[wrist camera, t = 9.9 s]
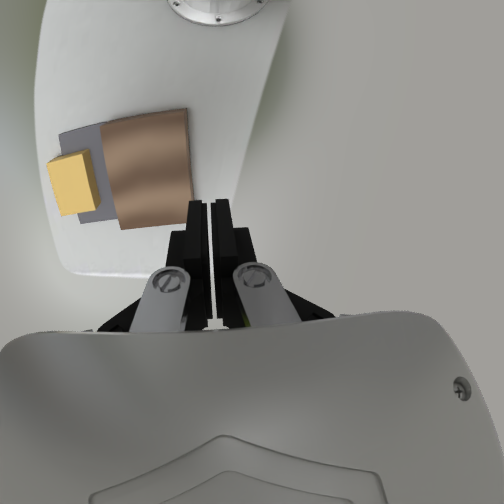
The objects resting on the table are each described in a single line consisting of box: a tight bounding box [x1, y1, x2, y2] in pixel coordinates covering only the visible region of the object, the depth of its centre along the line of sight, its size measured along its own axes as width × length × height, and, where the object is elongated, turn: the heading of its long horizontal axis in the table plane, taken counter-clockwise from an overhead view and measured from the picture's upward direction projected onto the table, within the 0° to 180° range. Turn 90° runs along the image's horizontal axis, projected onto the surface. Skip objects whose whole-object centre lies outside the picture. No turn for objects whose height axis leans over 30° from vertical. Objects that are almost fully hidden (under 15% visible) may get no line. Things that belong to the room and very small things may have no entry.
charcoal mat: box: [59, 122, 118, 224], centre depth 31 cm, size 14×8×1 cm, turn 0°
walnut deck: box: [100, 108, 194, 230], centre depth 31 cm, size 14×10×4 cm
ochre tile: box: [47, 149, 101, 216], centre depth 30 cm, size 8×6×2 cm
